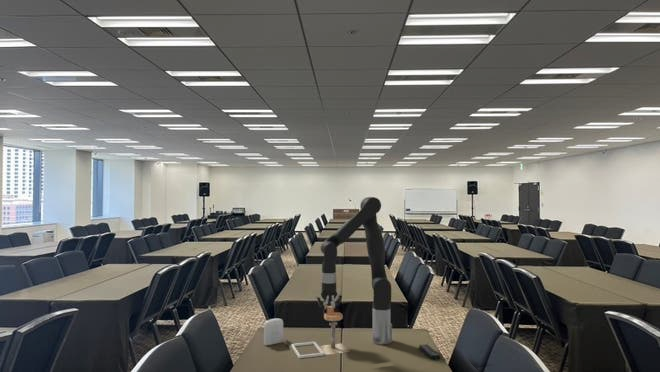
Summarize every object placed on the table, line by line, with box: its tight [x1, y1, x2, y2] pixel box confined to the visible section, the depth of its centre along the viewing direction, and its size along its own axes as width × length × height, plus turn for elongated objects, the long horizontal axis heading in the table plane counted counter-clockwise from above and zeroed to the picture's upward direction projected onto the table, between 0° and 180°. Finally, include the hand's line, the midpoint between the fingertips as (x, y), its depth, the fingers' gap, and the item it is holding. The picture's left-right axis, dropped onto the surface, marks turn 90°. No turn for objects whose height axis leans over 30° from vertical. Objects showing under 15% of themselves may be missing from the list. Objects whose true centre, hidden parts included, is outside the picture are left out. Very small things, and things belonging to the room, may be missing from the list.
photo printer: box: [263, 317, 284, 346], centre depth 211 cm, size 10×4×12 cm, turn 123°
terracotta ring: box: [323, 305, 344, 322], centre depth 203 cm, size 8×13×4 cm
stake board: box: [318, 321, 351, 356], centre depth 199 cm, size 12×12×14 cm
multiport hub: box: [418, 344, 441, 361], centre depth 197 cm, size 4×14×2 cm, turn 11°
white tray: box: [291, 341, 325, 359], centre depth 196 cm, size 12×16×2 cm
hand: (329, 315), depth 207 cm, fingers closed on terracotta ring, 3 cm apart
